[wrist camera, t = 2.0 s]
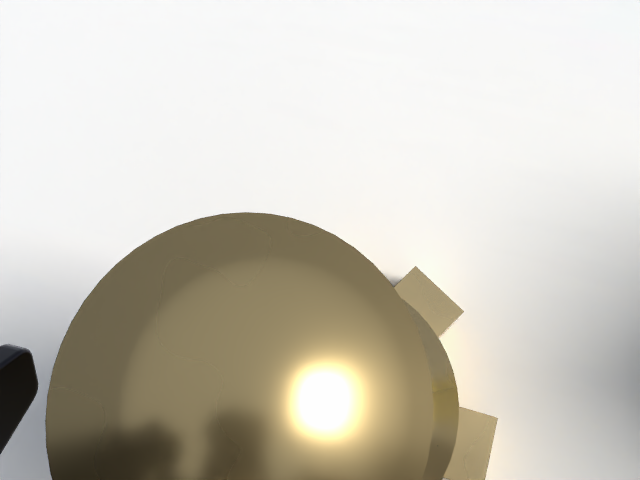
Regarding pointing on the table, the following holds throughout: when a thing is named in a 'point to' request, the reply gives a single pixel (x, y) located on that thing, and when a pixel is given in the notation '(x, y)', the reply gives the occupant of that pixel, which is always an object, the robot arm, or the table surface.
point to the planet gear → (259, 365)
